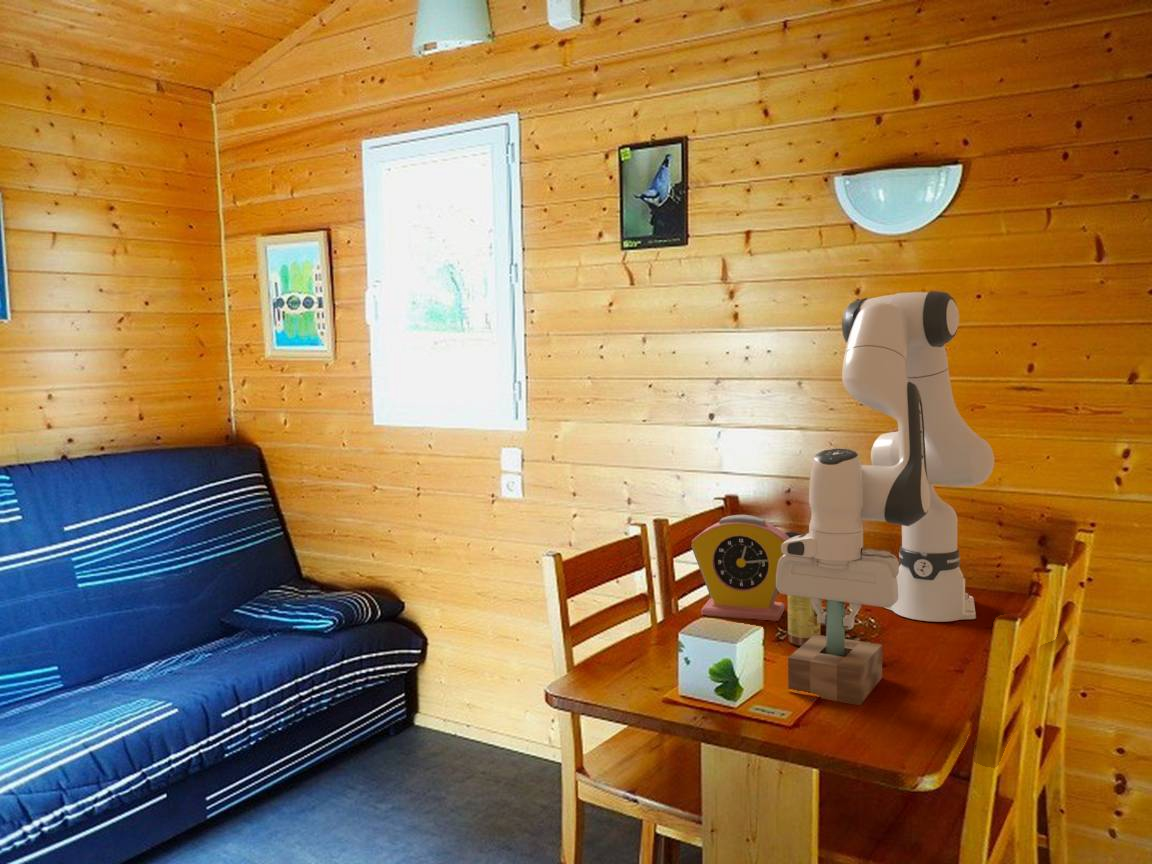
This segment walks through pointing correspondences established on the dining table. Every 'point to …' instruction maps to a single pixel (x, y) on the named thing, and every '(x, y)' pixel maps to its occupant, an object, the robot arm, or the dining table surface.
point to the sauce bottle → (801, 620)
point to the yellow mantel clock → (740, 567)
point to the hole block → (836, 670)
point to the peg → (835, 627)
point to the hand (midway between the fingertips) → (835, 625)
